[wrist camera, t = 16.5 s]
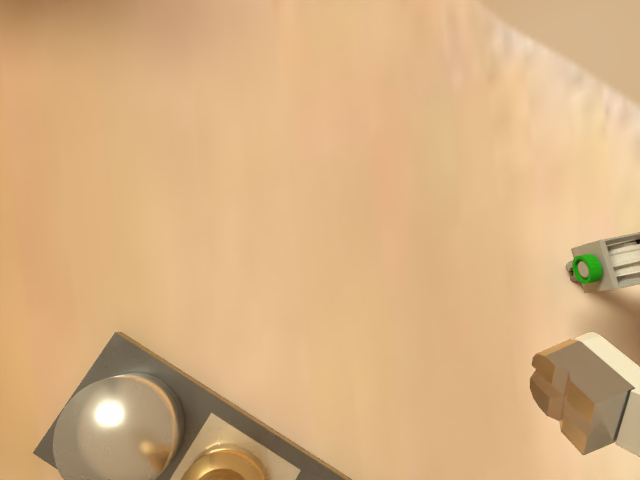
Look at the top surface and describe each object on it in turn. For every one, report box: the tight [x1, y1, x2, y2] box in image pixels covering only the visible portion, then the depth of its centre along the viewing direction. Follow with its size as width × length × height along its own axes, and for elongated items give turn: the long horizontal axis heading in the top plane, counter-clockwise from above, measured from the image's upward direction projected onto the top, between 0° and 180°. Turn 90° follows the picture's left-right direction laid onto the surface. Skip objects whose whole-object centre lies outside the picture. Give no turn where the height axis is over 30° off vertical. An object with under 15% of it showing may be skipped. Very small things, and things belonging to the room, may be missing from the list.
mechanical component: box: [566, 232, 640, 293], centre depth 30 cm, size 3×10×10 cm, turn 101°
